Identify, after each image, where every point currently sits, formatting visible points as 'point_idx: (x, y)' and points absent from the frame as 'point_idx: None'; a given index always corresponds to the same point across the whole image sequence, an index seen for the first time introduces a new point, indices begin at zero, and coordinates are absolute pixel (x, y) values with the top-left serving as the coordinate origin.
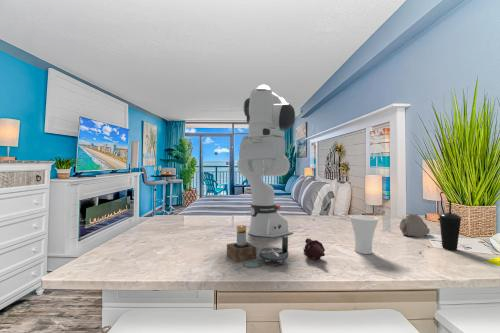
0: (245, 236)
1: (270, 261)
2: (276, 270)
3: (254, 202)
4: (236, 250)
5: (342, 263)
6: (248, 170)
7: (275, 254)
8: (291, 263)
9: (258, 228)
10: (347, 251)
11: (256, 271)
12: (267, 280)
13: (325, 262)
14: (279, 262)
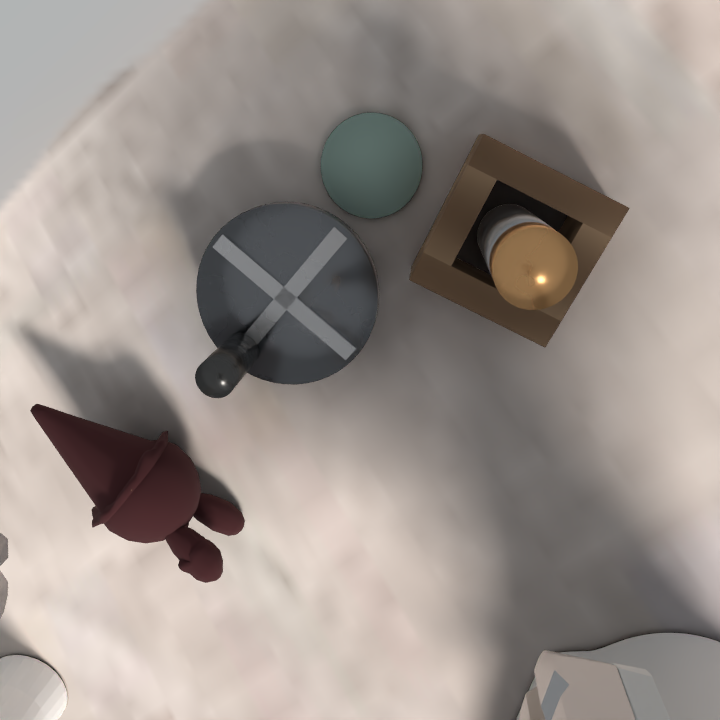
0: (487, 261)
1: None
2: (217, 183)
3: None
4: (481, 138)
5: (24, 478)
6: (640, 682)
7: (247, 256)
8: None
9: (666, 682)
10: (84, 652)
11: (292, 96)
12: (177, 33)
13: None
14: None
